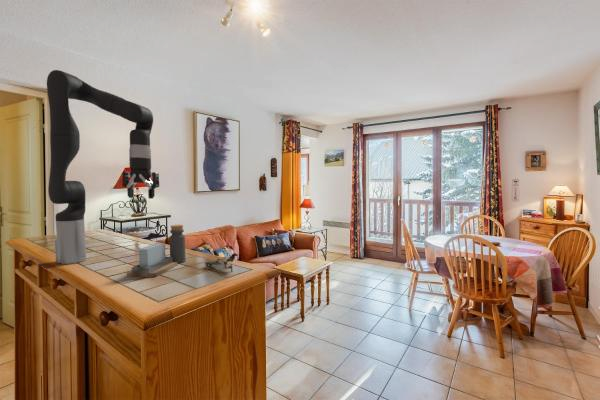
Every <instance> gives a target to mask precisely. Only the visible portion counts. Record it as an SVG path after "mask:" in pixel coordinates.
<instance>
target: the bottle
mask: <svg viewBox="0 0 600 400" xmlns="http://www.w3.org/2000/svg"><path fill="white" fill-rule="evenodd" d="M169 232H170V234H171V235H170V236H169V257H172V262H177V265H178V264H183V263H185V262H186V260H187V259H186V236H185V235H184V234H183V233H184V232H185V230H184V225H183V224H173V225H170V231H169Z"/></svg>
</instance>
